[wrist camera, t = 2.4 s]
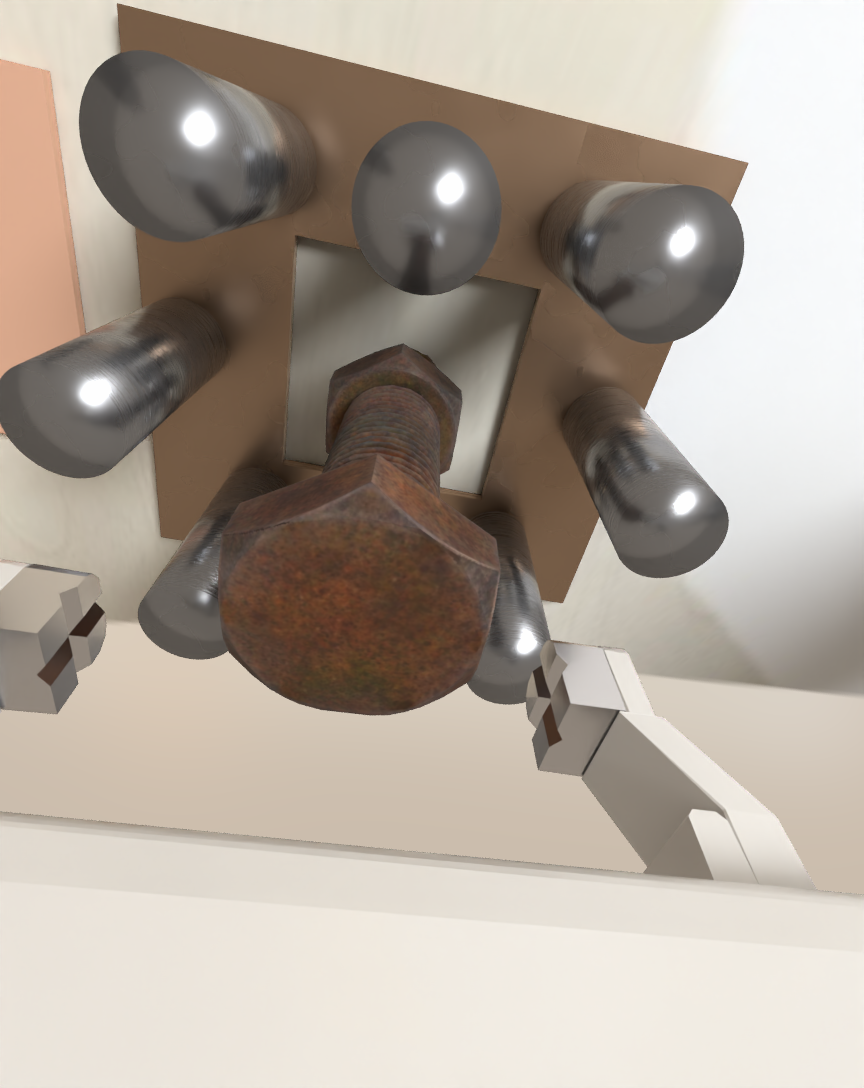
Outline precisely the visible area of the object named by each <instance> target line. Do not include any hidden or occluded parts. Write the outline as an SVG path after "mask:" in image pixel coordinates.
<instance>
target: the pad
mask: <svg viewBox="0 0 864 1088" xmlns="http://www.w3.org/2000/svg"><path fill="white" fill-rule="evenodd" d="M84 334H86V331H85V324H84V317H83V310H82V302H81V295H80V288H79V281H78V273H77V266H76V259H75V252H74V244H73V237H72V230H71V223H70V215H69V208H68V201H67V194H66V186H65V179H64V172H63V165H62V157H61V150H60V143H59V136H58V128H57V121H56V114H55V107H54V99H53V92H52V85H51V78H50V71H46V70H42V69H38V68H34V67H30V66H26V65H22V64H17V63H13V62H9V61H5V60H1V59H0V378H1V377H2V376H3V374H4V373H5V372H6V371H8V370H9V369H10V368H12V367H14V366H16V365H18V364H20V363H22V362H25V361H27V360H29V359H31V358H33V357H36V356H38V355H40V354H42V353H44V352H46V351H49V350H51V349H53V348H55V347H57V346H60V345H62V344H64V343H66V342H68V341H71V340H73V339H75V338H77V337H79V336H82V335H84ZM0 433H3V434H6V433H5V432H4V430H3V428H2V426H1V424H0Z"/></svg>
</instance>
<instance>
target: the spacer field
mask: <svg viewBox="0 0 864 1088" xmlns="http://www.w3.org/2000/svg"><path fill="white" fill-rule="evenodd" d="M117 10H118V22H119V34H120V46H121V53H120V54H117V55H115V56H113V57H111V58H110V59H108V60H106V61H105V62H104V63H103V64H101V65H100V66H99V67H98V68H97V69H96V71H95V72H94V73H93V75H92V76H91V77H90V79H89V81H88V83H87V85H86V87H85V90H84V93H83V96H82V100H81V105H80V113H79V129H80V139H81V144H82V149H83V153H84V156H85V160H86V162H87V165H88V167H89V170H90V172H91V174H92V176H93V178H94V180H95V182H96V184H97V186H98V187H99V189H100V191H101V192H102V194H103V195H104V197H105V198H106V199H107V201H108V202H109V203H110V204H111V206H112V207H113V208H114V209H115V210H116V211H117V212H118V213H119V214H120V215H121V216H122V217H123V218H124V219H126V220H127V221H128V222H129V223H131V224H132V225H133V226H135V228H136V240H137V252H138V264H139V276H140V288H141V300H142V308H141V309H139V310H137V311H134V312H132V313H130V314H128V315H126V316H123V317H121V318H119V319H117V320H115V321H112V322H110V323H108V324H106V325H104V326H101V327H99V328H97V329H95V330H93V331H90V332H88V333H86V334H84V335H82V336H79V337H77V338H75V339H73V340H71V341H68V342H66V343H64V344H62V345H60V346H57V347H55V348H53V349H51V350H49V351H46V352H44V353H42V354H40V355H38V356H36V357H33V358H31V359H29V360H27V361H25V362H22V363H20V364H18V365H16V366H14V367H12V368H10V369H9V370H8V371H6V372H5V373H4V374H3V376H2V377H1V378H0V424H1V426H2V428H3V430H4V432H5V433H6V435H7V436H8V438H9V439H10V440H11V442H12V443H13V444H14V445H15V446H16V447H17V448H18V449H19V450H20V451H21V452H22V453H23V454H24V455H25V456H26V457H28V458H29V459H30V460H32V461H33V462H35V463H36V464H38V465H39V466H41V467H43V468H45V469H47V470H49V471H51V472H54V473H56V474H59V475H63V476H67V477H73V478H91V477H95V476H99V475H102V474H104V473H106V472H107V471H109V470H110V469H112V468H113V467H114V466H115V465H116V464H117V463H118V462H119V461H120V460H122V459H123V458H124V457H125V456H126V455H127V454H128V453H129V452H130V451H132V450H133V449H134V448H135V447H136V446H137V445H138V444H139V443H140V442H142V441H143V440H144V439H145V438H146V437H147V436H148V435H149V434H150V433H153V445H154V458H155V470H156V482H157V494H158V506H159V518H160V530H161V537H165V538H171V539H177V540H184V541H183V542H182V544H181V545H180V547H179V548H178V550H177V551H176V552H175V554H174V555H173V557H172V558H171V560H170V561H169V562H168V564H167V565H166V567H165V568H164V570H163V571H162V573H161V574H160V575H159V577H158V578H157V580H156V581H155V583H154V584H153V585H152V587H151V588H150V590H149V591H148V593H147V594H146V595H145V597H144V598H143V600H142V601H141V603H140V606H139V609H138V619H139V623H140V625H141V627H142V629H143V631H144V632H145V634H146V635H147V636H148V638H150V639H151V641H153V642H154V643H155V644H156V645H158V646H159V647H160V648H162V649H164V650H165V651H167V652H169V653H171V654H174V655H177V656H180V657H184V658H189V659H210V658H215V657H218V656H220V655H222V654H224V653H226V652H227V651H228V649H227V647H226V644H225V642H224V640H223V636H222V630H221V623H220V614H219V604H218V567H219V556H220V545H221V535H222V532H223V531H224V529H225V527H226V526H227V524H228V522H229V520H230V519H231V517H232V515H233V514H234V512H235V510H236V509H237V507H238V505H239V503H242V502H245V501H248V500H250V499H253V498H256V497H259V496H261V495H264V494H267V493H270V492H273V491H275V490H278V489H281V488H284V487H286V486H289V485H292V484H295V483H297V482H300V481H303V480H306V479H309V478H311V477H314V476H317V475H320V474H322V471H323V469H324V466H319V465H314V464H308V463H303V462H297V461H292V460H286V459H285V449H286V431H287V414H288V396H289V379H290V362H291V344H292V327H293V310H294V292H295V275H296V258H297V240H298V236H301V237H306V238H311V239H315V240H320V241H324V242H329V243H333V244H338V245H342V246H347V247H351V248H356V249H360V250H361V251H362V253H363V255H364V257H365V258H366V260H367V262H368V263H369V264H370V266H371V267H372V268H373V270H374V271H375V272H376V273H377V274H378V275H379V276H380V277H381V278H383V279H384V280H385V281H386V282H388V283H389V284H391V285H393V286H394V287H396V288H398V289H400V290H403V291H405V292H409V293H412V294H418V295H436V294H442V293H445V292H449V291H451V290H453V289H456V288H458V287H460V286H461V285H463V284H464V283H466V282H467V281H468V280H470V279H471V278H472V277H473V276H474V275H478V276H483V277H487V278H492V279H496V280H501V281H505V282H510V283H514V284H519V285H523V286H528V287H532V288H537V289H539V290H538V294H537V298H536V301H535V305H534V308H533V312H532V315H531V319H530V323H529V326H528V330H527V333H526V337H525V340H524V344H523V348H522V351H521V355H520V358H519V362H518V365H517V369H516V373H515V376H514V380H513V383H512V387H511V390H510V394H509V398H508V401H507V405H506V408H505V412H504V416H503V419H502V423H501V426H500V430H499V433H498V437H497V441H496V444H495V448H494V451H493V455H492V458H491V462H490V466H489V469H488V473H487V476H486V480H485V483H484V487H483V491H482V494H481V495H478V494H473V493H467V492H462V491H456V490H451V489H445V488H440V499H441V500H443V501H444V502H445V503H447V504H448V505H450V506H451V507H452V508H454V509H455V510H457V511H458V512H459V513H461V514H462V515H463V516H465V517H466V518H468V519H469V520H470V521H472V522H473V523H475V524H476V525H477V526H479V527H480V528H482V529H483V530H484V531H486V532H487V533H489V534H490V535H491V536H493V537H494V538H495V539H496V542H497V549H498V556H499V563H500V571H501V572H500V578H499V584H498V590H497V597H496V603H495V608H494V613H493V617H492V622H491V626H490V631H489V634H488V637H487V640H486V643H485V646H484V649H483V653H482V656H481V659H480V662H479V665H478V668H477V670H476V672H475V674H474V675H473V677H472V679H471V680H470V681H469V682H467V684H468V686H469V688H470V689H471V690H472V691H473V692H474V693H475V694H476V695H477V696H479V697H481V698H482V699H484V700H487V701H490V702H493V703H498V704H519V703H524V702H526V694H527V687H528V682H529V680H530V677H531V674H532V671H534V670H535V669H537V668H538V667H540V666H541V665H542V663H541V659H540V652H541V650H542V648H543V645H544V644H545V643H546V642H547V641H548V640H551V639H550V635H549V630H548V626H547V622H546V618H545V613H544V609H543V605H542V601H541V600H546V601H552V602H559V603H563V601H564V599H565V597H566V594H567V592H568V590H569V587H570V585H571V582H572V580H573V578H574V575H575V573H576V571H577V568H578V566H579V564H580V561H581V559H582V556H583V554H584V552H585V549H586V547H587V545H588V542H589V540H590V537H591V535H592V533H593V530H594V528H595V526H596V523H597V521H598V519H599V516H600V518H601V520H602V522H603V524H604V526H605V529H606V531H607V533H608V535H609V537H610V539H611V541H612V544H613V546H614V548H615V550H616V552H617V554H618V556H619V559H620V560H621V561H622V563H623V564H624V565H625V566H626V567H627V568H628V569H630V570H631V571H633V572H635V573H637V574H639V575H642V576H646V577H652V578H667V577H673V576H678V575H681V574H684V573H687V572H689V571H691V570H693V569H695V568H697V567H699V566H700V565H702V564H703V563H705V562H706V561H707V560H708V559H710V558H711V557H712V556H713V555H714V554H715V552H716V551H717V550H718V549H719V547H720V546H721V544H722V543H723V541H724V539H725V536H726V534H727V530H728V521H729V519H728V513H727V510H726V507H725V505H724V503H723V502H722V501H721V499H720V498H719V497H718V496H717V495H716V494H715V492H714V491H713V490H712V489H711V488H710V487H709V485H708V484H707V483H706V482H705V481H704V480H703V478H702V477H701V476H700V475H699V474H698V473H697V471H696V470H695V469H694V468H693V467H692V466H691V464H690V463H689V462H688V461H687V460H686V459H685V457H684V456H683V455H682V454H681V453H680V452H679V450H678V449H677V448H676V447H675V446H674V444H673V443H672V442H671V441H670V440H669V439H668V437H667V436H666V435H665V434H664V433H663V432H662V430H661V429H660V428H659V427H658V426H657V425H656V423H655V422H654V421H653V420H652V419H651V418H650V416H649V415H648V414H647V413H646V412H645V411H644V410H645V407H646V405H647V402H648V400H649V398H650V395H651V393H652V391H653V388H654V386H655V383H656V381H657V379H658V376H659V374H660V372H661V369H662V367H663V365H664V362H665V360H666V357H667V355H668V353H669V350H670V348H671V346H672V343H673V341H675V340H678V339H681V338H683V337H685V336H687V335H689V334H691V333H693V332H695V331H696V330H698V329H699V328H701V327H702V326H703V325H705V324H706V323H707V322H708V321H709V320H711V319H712V318H713V317H714V316H715V314H716V313H717V312H718V311H719V310H720V309H721V308H722V306H723V305H724V304H725V302H726V301H727V299H728V298H729V296H730V295H731V293H732V291H733V289H734V287H735V285H736V282H737V280H738V277H739V274H740V271H741V267H742V262H743V256H744V239H743V232H742V228H741V224H740V221H739V219H738V216H737V214H736V213H735V211H734V210H733V208H732V207H731V203H732V201H733V199H734V196H735V194H736V192H737V189H738V187H739V185H740V182H741V180H742V177H743V175H744V173H745V170H746V168H747V166H748V163H746V162H742V161H738V160H735V159H731V158H727V157H723V156H719V155H715V154H711V153H707V152H703V151H699V150H695V149H691V148H687V147H683V146H679V145H675V144H671V143H667V142H663V141H659V140H655V139H651V138H648V137H644V136H640V135H636V134H632V133H628V132H624V131H620V130H616V129H612V128H608V127H604V126H600V125H596V124H592V123H588V122H584V121H580V120H576V119H572V118H568V117H565V116H561V115H557V114H553V113H549V112H545V111H541V110H537V109H533V108H529V107H525V106H521V105H517V104H513V103H509V102H505V101H501V100H497V99H493V98H489V97H485V96H482V95H478V94H474V93H470V92H466V91H462V90H458V89H454V88H450V87H446V86H442V85H438V84H434V83H430V82H426V81H422V80H418V79H414V78H410V77H406V76H402V75H399V74H395V73H391V72H387V71H383V70H379V69H375V68H371V67H367V66H363V65H359V64H355V63H351V62H347V61H343V60H339V59H335V58H331V57H327V56H323V55H319V54H316V53H312V52H308V51H304V50H300V49H296V48H292V47H288V46H284V45H280V44H276V43H272V42H268V41H264V40H260V39H256V38H252V37H248V36H244V35H240V34H236V33H233V32H229V31H225V30H221V29H217V28H213V27H209V26H205V25H201V24H197V23H193V22H189V21H185V20H181V19H177V18H173V17H169V16H165V15H161V14H157V13H153V12H150V11H146V10H142V9H138V8H134V7H130V6H126V5H122V4H118V3H117Z"/></svg>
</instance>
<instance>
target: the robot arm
mask: <svg viewBox="0 0 864 1088" xmlns="http://www.w3.org/2000/svg"><path fill="white" fill-rule="evenodd" d="M101 593H102V591H101V586H100V581H99V578H98V577H97V576H95V575H94V574H91V573H85V572H79V571H73V570H67V569H61V568H55V567H49V566H43V565H37V564H28V563H22V562H16V561H10V560H4V559H2V560H0V713H1V709H5V710H15V711H26V712H38V713H50V714H58V712H59V711H60V709H61V708H62V706H63V705H64V704H65V702H66V701H67V699H68V698H69V696H70V695H71V694H72V692H73V691H74V689H75V688H76V686H77V685H78V680H77V674H76V672H78V671H79V670H82V669H83V668H85V667H87V666H89V665H91V664H92V663H93V661H94V660H95V658H96V657H97V655H98V654H99V652H100V650H101V647H102V644H103V641H104V638H105V633H106V616H105V612H104V611H103V610H102V609H101V608H100V607H99V606H98V605H97V604H96V603H95V601H96V600H97V599H98V597H99V596H100V595H101ZM540 659H541V663H542V665H541V666H540V667H538V668H537V669H535V670H534V671H532V674H531V677H530V680H529V682H528V687H527V694H526V709H527V715H528V720H529V721H530V722H531V723H532V724H533V725H534V726H535V727H536V729H537V730H536V732H535V734H534V736H533V739H532V742H533V746H534V752H535V757H536V762H537V766H538V770H540V771H547V772H554V773H561V774H569V775H575V776H582V780H583V781H584V782H585V784H586V785H587V787H588V788H589V789H590V791H591V792H592V793H593V794H594V796H595V797H596V799H597V800H598V801H599V803H600V804H601V805H602V807H603V808H604V809H605V811H606V812H607V813H608V815H609V816H610V817H611V818H612V820H613V821H614V823H615V824H616V825H617V827H618V828H619V829H620V831H621V832H622V833H623V835H624V836H625V837H626V839H627V840H628V841H629V843H630V844H631V845H632V847H633V848H634V849H635V851H636V852H637V853H638V855H639V856H640V858H641V859H642V860H643V861H644V863H645V864H646V865H647V869H646V870H645V871H644V872H643V873H634V872H624V871H613V870H603V869H593V868H582V867H571V866H562V865H552V864H541V863H531V862H520V861H510V860H500V859H489V858H478V857H467V856H457V855H447V854H436V853H425V852H415V851H404V850H393V849H383V848H373V847H362V846H351V845H341V844H331V843H321V842H310V841H300V840H289V839H279V838H268V837H259V836H249V835H238V834H228V833H217V832H208V831H197V830H187V829H176V828H165V827H156V826H144V825H134V824H125V823H114V822H104V821H93V820H83V819H73V818H63V817H52V816H42V815H31V814H21V813H11V812H0V1088H864V895H862V894H852V893H842V892H831V891H820V890H817V889H816V887H815V885H814V884H813V882H812V880H811V878H810V876H809V874H808V873H807V871H806V869H805V867H804V865H803V864H802V862H801V860H800V858H799V856H798V854H797V853H796V851H795V849H794V847H793V845H792V843H791V842H790V840H789V838H788V836H787V834H786V833H785V831H784V829H783V827H782V825H781V824H780V822H779V820H778V818H777V817H776V816H775V815H774V814H773V813H772V812H771V811H769V810H768V809H767V808H766V807H765V806H764V805H763V804H762V803H761V802H759V801H758V800H757V799H756V798H755V797H754V796H752V795H751V794H750V793H749V792H748V791H747V790H746V789H745V788H743V787H742V786H741V785H740V784H739V783H738V782H736V781H735V780H734V779H733V778H732V777H731V776H730V775H729V774H728V773H726V772H725V771H724V770H723V769H722V768H721V767H720V766H718V765H717V764H716V763H715V762H714V761H713V760H712V759H711V758H709V757H708V756H707V755H706V754H705V753H704V752H703V751H701V750H700V749H699V748H698V747H697V746H696V745H695V744H693V743H692V742H691V741H690V740H689V739H688V738H687V737H685V736H684V735H683V734H682V733H681V732H680V731H679V730H677V729H676V728H675V727H674V726H673V725H672V724H671V723H669V722H668V721H667V720H666V719H665V718H664V717H660V716H656V715H655V713H654V711H653V709H652V706H651V704H650V702H649V699H648V697H647V695H646V693H645V691H644V688H643V686H642V684H641V681H640V679H639V677H638V674H637V672H636V670H635V667H634V665H633V663H632V661H631V658H630V656H629V654H628V653H627V652H626V651H625V650H624V649H618V648H610V647H602V646H598V647H596V646H591V645H583V644H576V643H569V642H562V641H554V640H548V641H547V642H546V643H545V644H544V645H543V648H542V650H541V652H540Z"/></svg>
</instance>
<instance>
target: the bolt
mask: <svg viewBox="0 0 864 1088" xmlns="http://www.w3.org/2000/svg"><path fill="white" fill-rule="evenodd" d="M461 407H462V394H461V390H460V389H459V388H458V387H457V386H456V385H455V384H454V383H453V382H452V381H451V380H450V379H449V378H448V377H447V376H446V375H444V374H443V373H442V372H441V371H440V370H439V369H437V368H436V366H435V364H434V363H433V361H432V360H431V359H430V357H429V356H428V355H425V354H422V353H420V352H419V351H416V350H414V349H411V348H409V347H408V346H406V345H405V344H400V345H397V346H393V347H390V348H386V349H384V350H381V351H378V352H374V353H373V354H370V355H368V356H365V357H363V358H361V359H358V360H356V361H354V362H352V363H350V364H348V365H346V366H344V367H342V368H340V369H338V370H336V371H335V372H334V374H333V376H332V378H331V380H330V385H329V394H328V403H327V417H326V452H327V453H328V454H329V456H328V459H327V461H326V464H325V466H324V469H323V471H322V474H320V475H317V476H314V477H311V478H309V479H306V480H303V481H300V482H297V483H295V484H292V485H289V486H286V487H284V488H281V489H278V490H275V491H273V492H270V493H267V494H264V495H261V496H259V497H256V498H253V499H250V500H248V501H245V502H242V503H239V505H238V507H237V509H236V510H235V512H234V514H233V515H232V517H231V519H230V520H229V522H228V524H227V526H226V527H225V529H224V531H223V532H222V535H221V545H220V556H219V567H218V604H219V614H220V623H221V630H222V636H223V640H224V642H225V644H226V647H227V649H228V651H229V653H231V655H232V656H233V657H234V658H235V659H236V660H237V661H238V662H239V663H240V664H241V665H242V666H243V667H245V668H246V669H247V670H248V671H249V672H250V673H251V674H252V675H253V676H254V677H255V678H257V679H258V680H259V681H260V682H262V683H263V684H264V685H266V686H267V687H268V688H269V689H271V690H273V691H275V692H276V693H278V694H280V695H282V696H283V697H285V698H287V699H289V700H292V701H294V702H296V703H298V704H302V705H305V706H309V707H313V708H316V709H320V710H327V711H336V712H346V713H355V714H363V715H391V714H396V713H401V712H406V711H409V710H413V709H416V708H420V707H422V706H424V705H427V704H429V703H431V702H433V701H435V700H438V699H440V698H442V697H444V696H446V695H447V694H449V693H451V692H452V691H454V690H456V689H457V688H459V687H461V686H462V685H464V684H466V683H467V682H469V681H470V680H471V679H472V677H473V675H474V674H475V672H476V670H477V668H478V665H479V662H480V659H481V656H482V653H483V649H484V646H485V643H486V640H487V637H488V634H489V631H490V626H491V622H492V617H493V613H494V608H495V603H496V597H497V590H498V584H499V578H500V572H501V571H500V563H499V556H498V549H497V542H496V539H495V538H494V537H493V536H491V535H490V534H489V533H487V532H486V531H484V530H483V529H482V528H480V527H479V526H477V525H476V524H475V523H473V522H472V521H470V520H469V519H468V518H466V517H465V516H463V515H462V514H461V513H459V512H458V511H457V510H455V509H454V508H452V507H451V506H450V505H448V504H447V503H445V502H444V501H443V500H441V499H440V474H442V473H444V472H446V471H448V470H449V468H450V465H451V461H452V457H453V452H454V447H455V442H456V437H457V431H458V426H459V420H460V413H461Z"/></svg>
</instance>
